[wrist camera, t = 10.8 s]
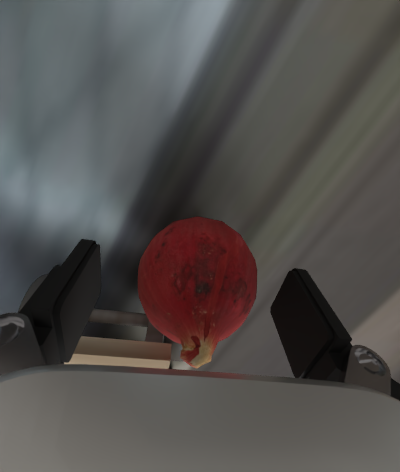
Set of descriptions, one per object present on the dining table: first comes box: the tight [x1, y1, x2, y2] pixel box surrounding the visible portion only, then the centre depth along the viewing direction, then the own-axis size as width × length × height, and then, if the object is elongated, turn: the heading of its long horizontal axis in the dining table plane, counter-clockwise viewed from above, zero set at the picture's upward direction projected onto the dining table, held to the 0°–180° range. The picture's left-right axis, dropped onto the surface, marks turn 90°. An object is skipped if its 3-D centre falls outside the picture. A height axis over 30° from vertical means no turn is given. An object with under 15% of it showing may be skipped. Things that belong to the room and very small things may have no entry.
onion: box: [138, 217, 257, 368], centre depth 11 cm, size 6×6×8 cm
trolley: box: [18, 274, 184, 369], centre depth 14 cm, size 14×10×14 cm, turn 169°
